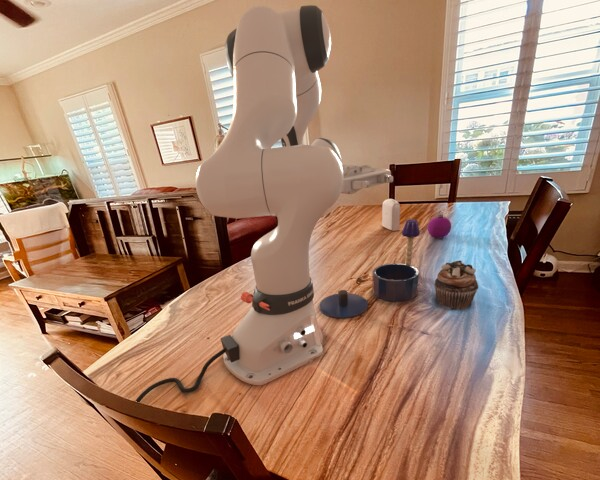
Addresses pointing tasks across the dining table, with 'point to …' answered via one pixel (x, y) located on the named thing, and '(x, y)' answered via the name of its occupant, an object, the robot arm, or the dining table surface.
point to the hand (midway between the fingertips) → (379, 182)
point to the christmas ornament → (439, 226)
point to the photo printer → (391, 214)
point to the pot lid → (343, 305)
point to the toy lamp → (410, 237)
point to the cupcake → (456, 285)
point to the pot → (395, 282)
